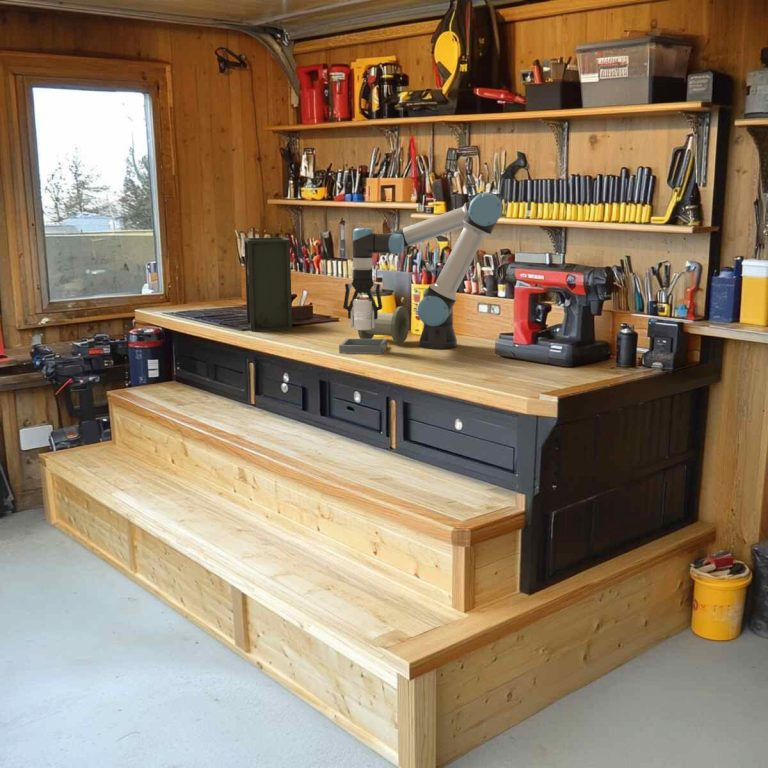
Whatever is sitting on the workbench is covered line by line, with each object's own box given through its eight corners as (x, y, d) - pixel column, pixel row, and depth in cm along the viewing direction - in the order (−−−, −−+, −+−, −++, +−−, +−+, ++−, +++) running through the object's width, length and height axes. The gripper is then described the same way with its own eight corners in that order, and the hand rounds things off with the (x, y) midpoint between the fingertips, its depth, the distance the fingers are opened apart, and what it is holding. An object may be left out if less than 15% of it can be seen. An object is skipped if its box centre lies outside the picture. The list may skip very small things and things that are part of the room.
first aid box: (292, 329, 409) (289, 239, 400) (250, 331, 404) (247, 240, 396) (287, 323, 426) (284, 237, 418) (247, 325, 422) (244, 238, 413)
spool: (409, 340, 378) (409, 304, 375) (394, 346, 365) (394, 309, 362) (373, 338, 385) (373, 302, 382) (357, 343, 372) (357, 307, 369)
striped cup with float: (353, 331, 350) (352, 299, 348) (348, 327, 358) (347, 297, 356) (378, 329, 353) (378, 299, 350) (372, 326, 361) (372, 296, 358)
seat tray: (386, 346, 364) (386, 339, 364) (381, 353, 348) (381, 346, 348) (346, 345, 366) (346, 338, 366) (339, 353, 350) (339, 345, 350)
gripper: (390, 268, 353) (390, 326, 358) (338, 267, 356) (338, 325, 360) (387, 269, 346) (387, 329, 351) (334, 269, 348) (335, 328, 353)
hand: (362, 327), depth 355 cm, fingers closed on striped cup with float, 8 cm apart
